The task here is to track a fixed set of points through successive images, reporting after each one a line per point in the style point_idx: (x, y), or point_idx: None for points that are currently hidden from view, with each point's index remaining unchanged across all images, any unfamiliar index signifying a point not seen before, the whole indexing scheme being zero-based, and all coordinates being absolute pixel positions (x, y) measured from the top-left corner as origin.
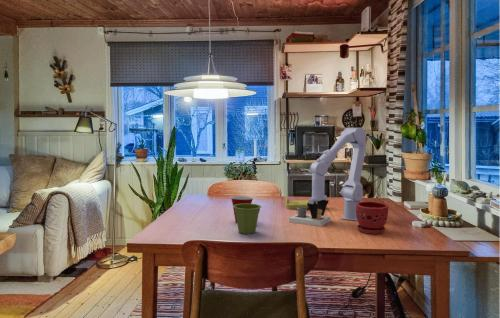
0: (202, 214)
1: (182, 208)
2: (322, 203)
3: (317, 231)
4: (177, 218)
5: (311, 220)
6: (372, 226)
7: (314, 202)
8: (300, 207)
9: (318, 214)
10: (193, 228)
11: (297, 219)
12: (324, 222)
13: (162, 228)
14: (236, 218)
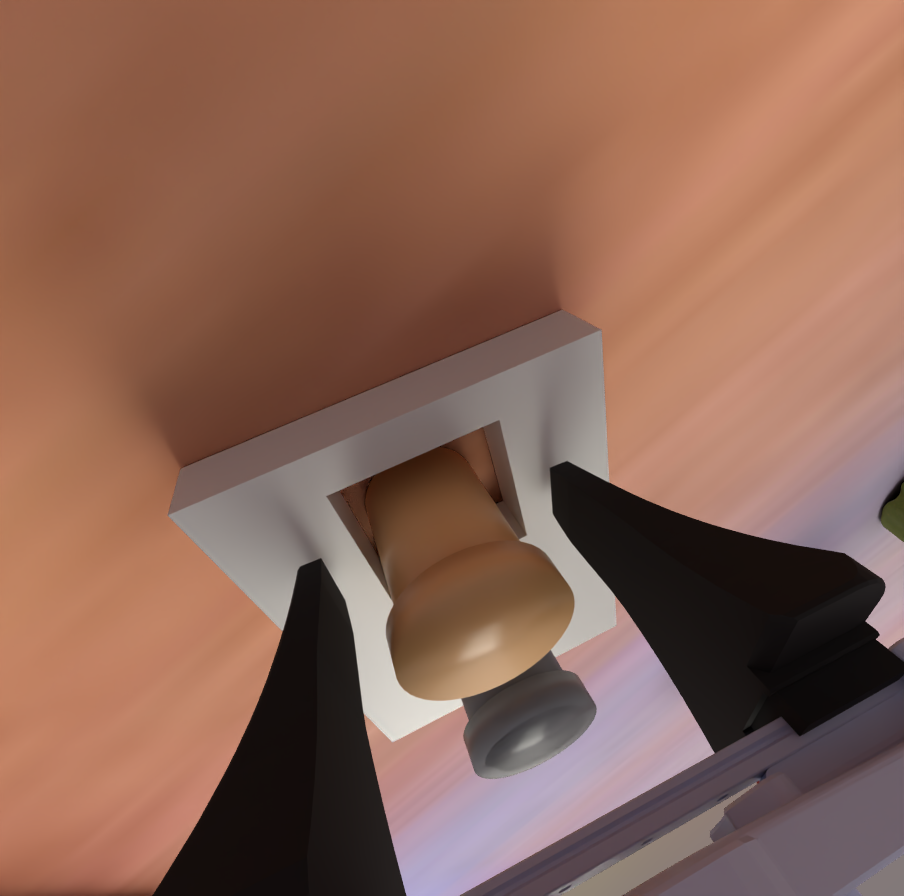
0: (669, 773)
1: None
2: (354, 818)
3: (826, 131)
4: None
5: (601, 462)
6: None
7: (875, 687)
8: (515, 766)
9: (501, 530)
10: (881, 614)
11: None
12: (448, 372)
13: (894, 638)
14: None
